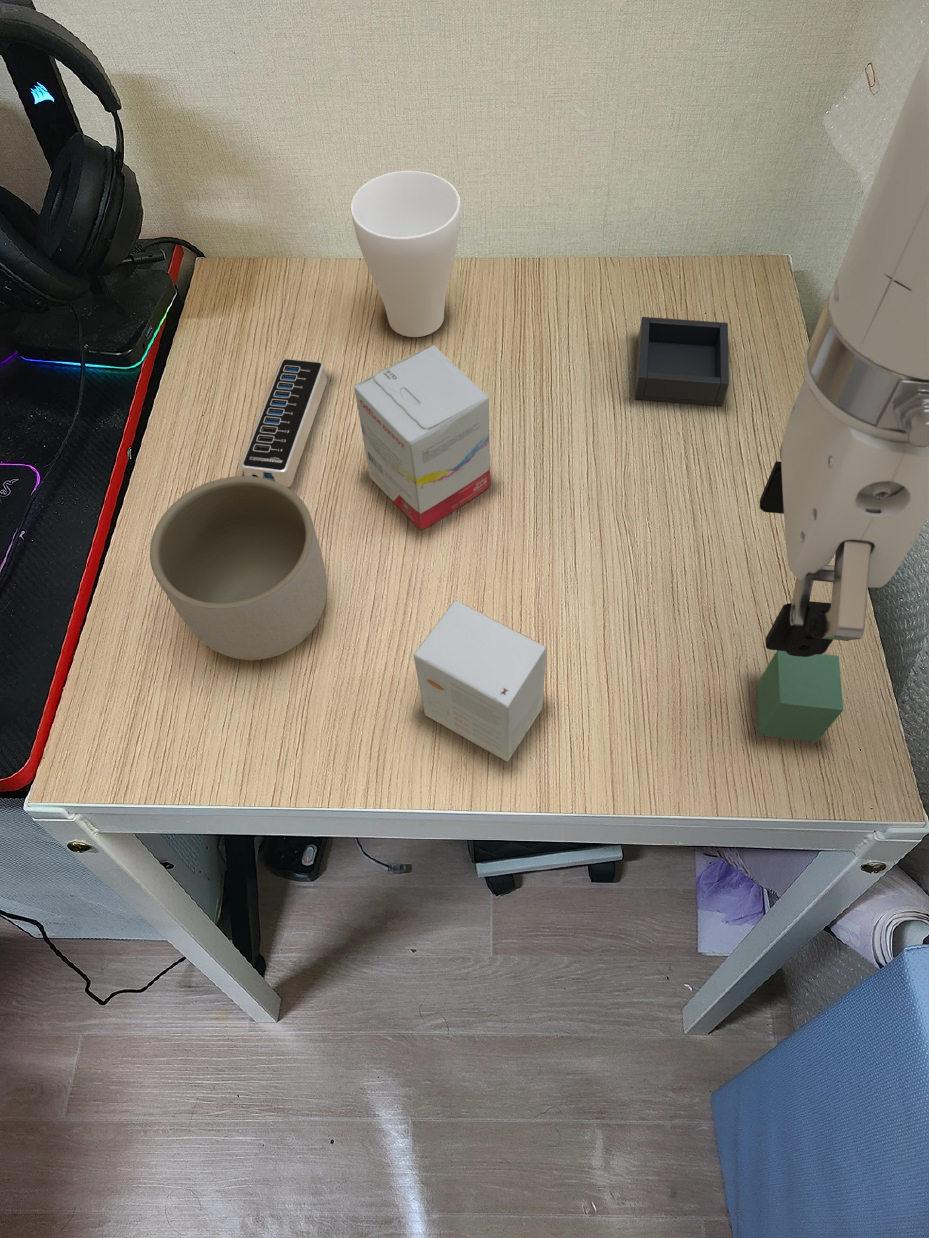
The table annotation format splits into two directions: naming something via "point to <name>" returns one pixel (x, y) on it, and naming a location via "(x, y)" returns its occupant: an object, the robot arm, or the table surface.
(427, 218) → the cup
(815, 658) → the pad block
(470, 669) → the small box
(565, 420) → the table surface
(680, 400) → the socket
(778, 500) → the robot arm
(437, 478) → the ink box
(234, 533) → the planter
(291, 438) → the multiport hub
